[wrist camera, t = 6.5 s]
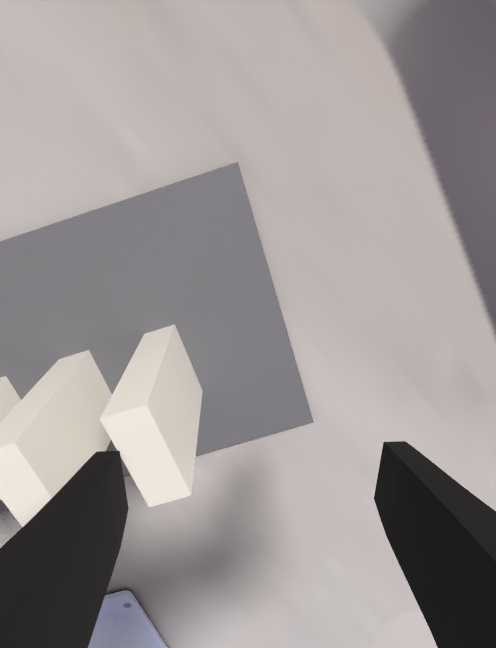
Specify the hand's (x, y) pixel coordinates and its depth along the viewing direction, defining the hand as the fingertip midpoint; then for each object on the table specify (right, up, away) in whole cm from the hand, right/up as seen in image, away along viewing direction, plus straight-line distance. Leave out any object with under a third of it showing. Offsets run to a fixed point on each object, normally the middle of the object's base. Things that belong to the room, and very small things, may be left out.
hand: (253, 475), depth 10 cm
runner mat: (-12, +1, +9) cm, 15 cm away
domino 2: (-4, +2, +9) cm, 10 cm away
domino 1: (-8, +1, +9) cm, 12 cm away
